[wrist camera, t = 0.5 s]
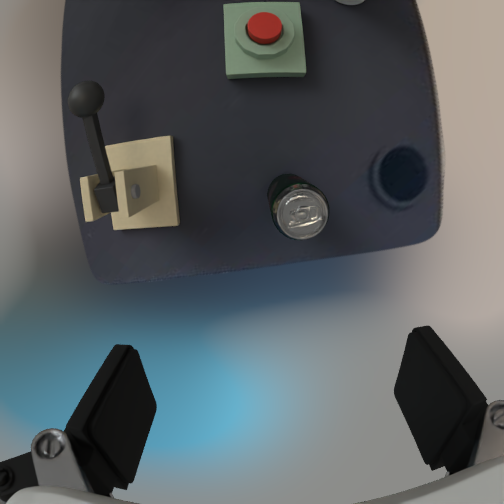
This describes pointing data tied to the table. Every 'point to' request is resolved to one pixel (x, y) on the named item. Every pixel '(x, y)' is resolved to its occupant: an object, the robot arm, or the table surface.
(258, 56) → the control block
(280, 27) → the button
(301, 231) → the soda can
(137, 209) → the lever bracket
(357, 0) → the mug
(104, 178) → the ball knob handle
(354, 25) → the table surface
